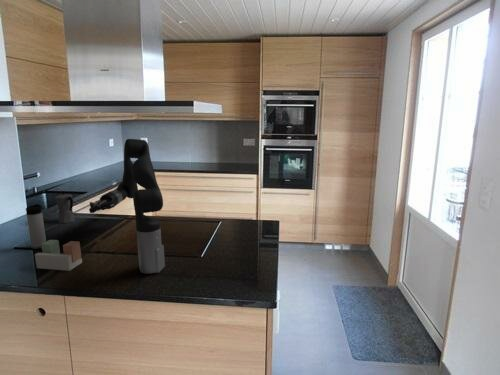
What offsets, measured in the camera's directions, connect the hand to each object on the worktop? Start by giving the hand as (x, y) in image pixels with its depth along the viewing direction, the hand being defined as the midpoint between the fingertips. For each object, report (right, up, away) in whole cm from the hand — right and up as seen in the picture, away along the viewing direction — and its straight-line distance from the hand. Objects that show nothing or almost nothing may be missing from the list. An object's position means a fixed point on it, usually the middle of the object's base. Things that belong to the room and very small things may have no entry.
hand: (91, 211), depth 154 cm
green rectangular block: (-13, -19, -9) cm, 25 cm away
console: (-8, -22, -10) cm, 25 cm away
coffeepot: (-36, -9, +47) cm, 60 cm away
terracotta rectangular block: (-3, -20, -10) cm, 22 cm away
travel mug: (-29, -18, +10) cm, 36 cm away
